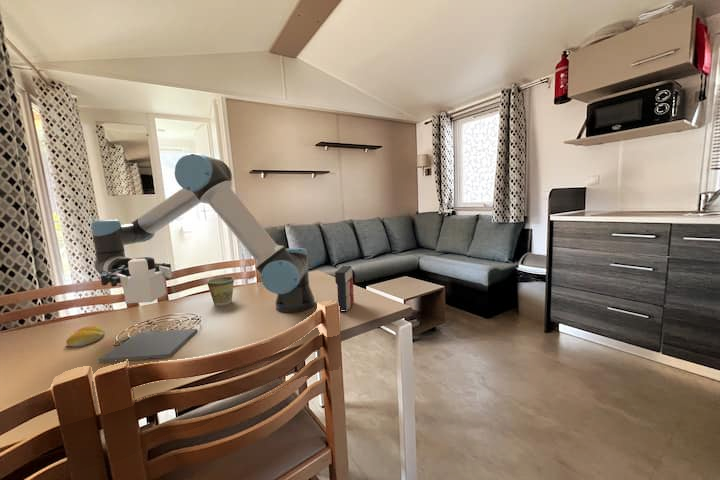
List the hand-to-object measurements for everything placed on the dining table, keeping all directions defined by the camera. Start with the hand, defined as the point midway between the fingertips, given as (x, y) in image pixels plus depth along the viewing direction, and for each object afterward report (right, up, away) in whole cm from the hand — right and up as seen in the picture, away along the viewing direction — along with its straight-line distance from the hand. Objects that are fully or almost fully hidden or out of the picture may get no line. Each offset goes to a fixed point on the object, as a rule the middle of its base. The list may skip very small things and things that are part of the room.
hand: (149, 277), depth 81 cm
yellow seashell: (-28, -22, +11) cm, 37 cm away
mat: (-3, -21, +5) cm, 22 cm away
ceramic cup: (+1, -16, +43) cm, 45 cm away
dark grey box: (+53, -16, +31) cm, 64 cm away
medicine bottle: (-3, -7, +4) cm, 8 cm away
